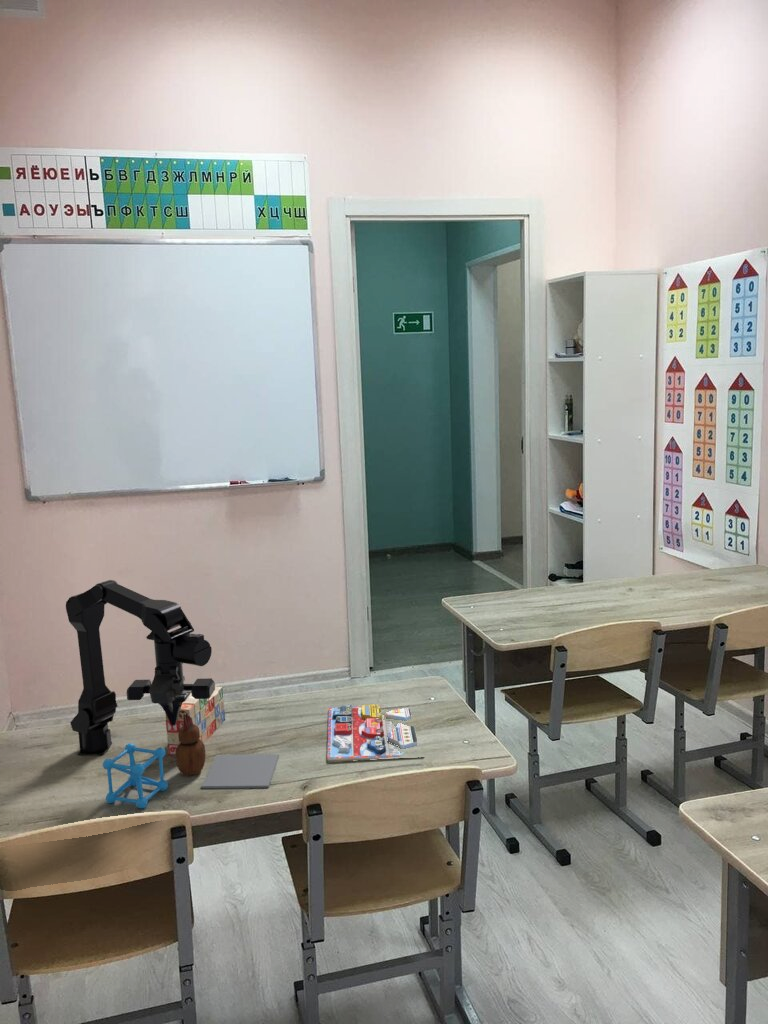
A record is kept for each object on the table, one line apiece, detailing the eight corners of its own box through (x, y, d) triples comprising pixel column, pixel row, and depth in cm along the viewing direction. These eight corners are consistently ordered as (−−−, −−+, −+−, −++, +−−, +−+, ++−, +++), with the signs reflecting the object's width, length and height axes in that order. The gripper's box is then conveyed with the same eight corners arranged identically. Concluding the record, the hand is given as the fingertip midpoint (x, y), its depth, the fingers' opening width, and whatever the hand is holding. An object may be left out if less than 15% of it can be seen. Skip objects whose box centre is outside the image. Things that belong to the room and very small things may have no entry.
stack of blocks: (203, 718, 221) (200, 674, 219) (225, 720, 220) (222, 675, 218) (168, 755, 201) (164, 707, 198) (192, 757, 199) (189, 708, 197)
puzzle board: (425, 760, 196) (425, 750, 195) (327, 765, 195) (326, 754, 194) (413, 708, 226) (413, 698, 225) (328, 712, 225) (328, 702, 224)
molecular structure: (103, 804, 179) (99, 760, 177) (132, 782, 188) (128, 740, 186) (143, 811, 175) (139, 767, 174) (170, 788, 185) (167, 746, 183)
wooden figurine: (190, 781, 187) (185, 718, 185) (172, 775, 190) (167, 713, 188) (211, 768, 193) (207, 707, 190) (193, 763, 196) (189, 703, 193)
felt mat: (201, 788, 184) (201, 786, 184) (216, 756, 199) (216, 754, 199) (268, 787, 184) (268, 785, 184) (279, 756, 198) (278, 754, 198)
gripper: (115, 673, 179) (121, 741, 182) (201, 671, 179) (206, 739, 181) (132, 655, 190) (137, 719, 193) (213, 653, 190) (217, 718, 192)
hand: (174, 724), depth 190 cm, fingers closed
